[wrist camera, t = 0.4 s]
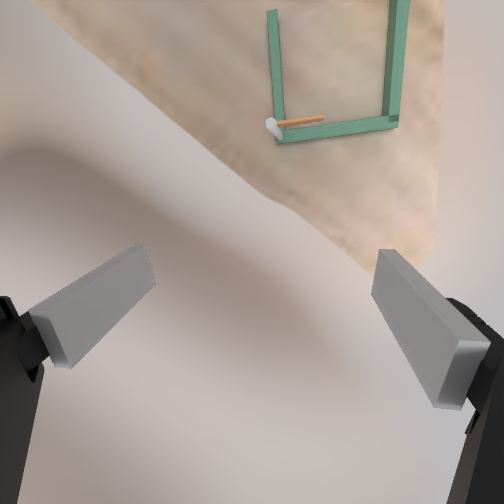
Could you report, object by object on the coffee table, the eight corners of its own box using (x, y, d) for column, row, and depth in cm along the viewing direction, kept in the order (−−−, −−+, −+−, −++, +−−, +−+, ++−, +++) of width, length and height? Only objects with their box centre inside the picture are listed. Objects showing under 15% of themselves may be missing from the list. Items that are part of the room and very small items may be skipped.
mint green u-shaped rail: (268, 21, 31) (234, -181, 12) (401, -9, 28) (627, -332, 9) (277, 144, 36) (263, 136, 17) (390, 129, 33) (520, 100, 14)
